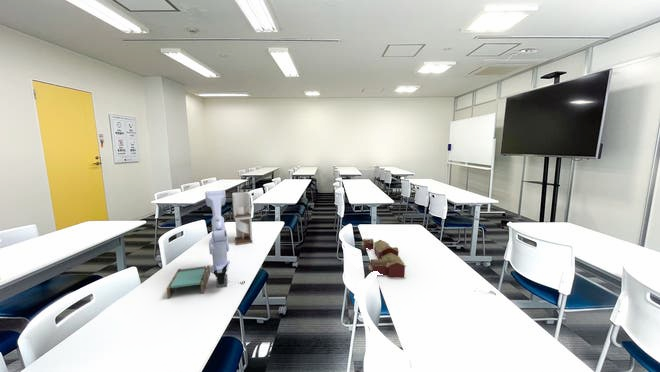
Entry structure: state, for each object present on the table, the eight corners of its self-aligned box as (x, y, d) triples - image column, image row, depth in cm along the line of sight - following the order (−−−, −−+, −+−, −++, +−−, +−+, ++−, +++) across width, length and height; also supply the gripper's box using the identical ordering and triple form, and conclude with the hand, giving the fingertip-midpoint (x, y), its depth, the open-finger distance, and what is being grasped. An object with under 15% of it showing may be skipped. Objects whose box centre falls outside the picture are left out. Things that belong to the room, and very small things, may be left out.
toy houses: (409, 278, 136) (410, 259, 134) (370, 278, 135) (370, 260, 133) (387, 245, 180) (388, 231, 179) (358, 246, 179) (358, 231, 178)
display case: (234, 240, 191) (232, 192, 185) (250, 237, 195) (247, 191, 190) (236, 245, 180) (233, 195, 175) (252, 242, 185) (250, 194, 180)
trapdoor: (181, 273, 134) (180, 268, 134) (206, 270, 137) (206, 265, 137) (170, 291, 117) (170, 286, 117) (200, 287, 121) (199, 282, 120)
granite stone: (218, 283, 130) (217, 275, 129) (227, 282, 131) (227, 273, 131) (217, 288, 126) (216, 279, 125) (227, 286, 127) (226, 278, 126)
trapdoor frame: (179, 277, 136) (178, 268, 135) (210, 274, 140) (209, 265, 139) (167, 298, 117) (166, 288, 116) (203, 293, 121) (202, 283, 120)
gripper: (228, 258, 120) (229, 286, 122) (230, 247, 134) (232, 272, 136) (211, 260, 118) (213, 288, 120) (215, 249, 132) (217, 274, 134)
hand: (222, 280), depth 128 cm, fingers open, 7 cm apart
